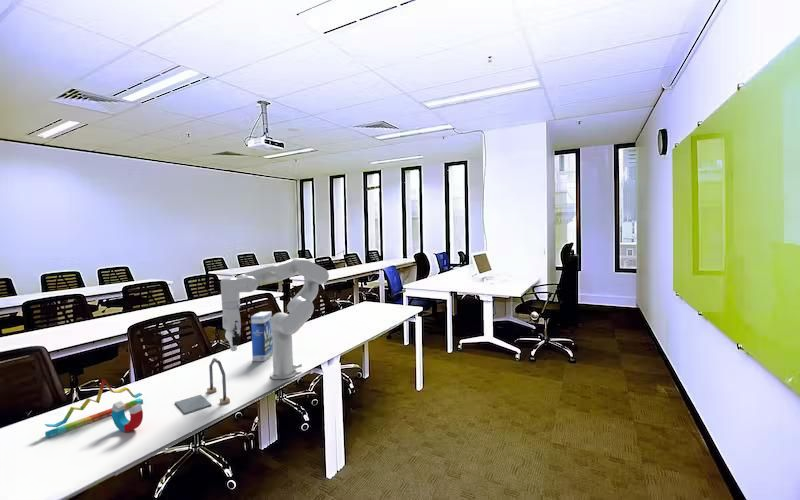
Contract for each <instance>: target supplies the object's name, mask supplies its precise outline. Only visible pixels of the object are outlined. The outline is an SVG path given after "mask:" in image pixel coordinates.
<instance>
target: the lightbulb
mask: <svg viewBox="0 0 800 500" xmlns="http://www.w3.org/2000/svg"><path fill="white" fill-rule="evenodd" d="M233 330H236V328H235V329H233ZM235 332H236V331H234V333H235ZM224 336H225V339H226V341H227V340H228V341H229V343H228V344H229V346H230V351H232V352H235V351H237V349H238V345H235V346H233V343H232V337H233V334H232V331H228V330H227V331H226V330H225V334H224Z"/></svg>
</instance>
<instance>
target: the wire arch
mask: <svg viewBox="0 0 800 500" xmlns="http://www.w3.org/2000/svg"><path fill="white" fill-rule="evenodd" d="M214 363H216V364H217V366H218V368H219V371H220V374H221V376H222V377H221V378H222V398H219V403H220V404H221V405H226V404H230V403H231V399H230V398H229V397H228V396H227V383H226V382H227V381H226V373H225V370H224V367H223V365H222V362H221V361H220V360H219V359H217V358H215V357H214V358H212V360H211V362H209V366H208V367H209V368H208V369H209V387H207V388H206V392H207V393H208V394H214V393H216V392H217V387H215V386H214V379H213V378H214V376H213V365H214Z"/></svg>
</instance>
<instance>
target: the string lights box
mask: <svg viewBox="0 0 800 500" xmlns="http://www.w3.org/2000/svg"><path fill="white" fill-rule="evenodd" d="M272 317H273V313H272V311H259V312H257V313H254V314H253V315H251V316H250V323H251V324H250V325H251V349H252V350H251V351H252V362H266V361H267V360H268V359H270V357H273V346H272V345H273V344H272V333H271V328H270V321H271V318H272Z"/></svg>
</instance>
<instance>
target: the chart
mask: <svg viewBox="0 0 800 500" xmlns="http://www.w3.org/2000/svg"><path fill="white" fill-rule="evenodd" d="M105 385H106V387H107V388H108V389H109V391H110V393H114V394H116V393H117V394H119V393H120V394H121V393H124V392H126V391H127V392H128V393H129V395H131V397H132V398H134V399H133V400H131V401H128V402H125V403H124V404H125V408H124V411H127V410H129V409H130V408H132V407H133V406H135V405H137V404H141V405H143V404H144V400H143V399H142V398H141V396H143V393H141V392H138V393H136V394H134V393H133V392H132V391H131V390H130V389H129V388H128V387H125V386H124V387H123V388H121V389H120V388H119V389H118V390H113V388H112V387H111V386H110V385H109V383H108V381H107V380H106V379H104V378H101V382H100V386H99V389H98V393H97V396H96V400H94V399H93V398H92V399H91V398H87V399H85V401H84V402H83V403H82V404H81V406H80V407H75V406H70V408H69V410H68V411H67V413H66V414H65V416H64V418H63V419H62V420H60V421H59V422H56V423H55V424H54V423H53V424H50V423H44V426H45V427H48V428H52V429H49V430H45V432H44V433H45V434H44V435H45V437H46V438H47V439H52V438H54V437H56V436H59V435H61V434H64V433H67V432H69V431H72V430H75V429H78V428H81V427H83V426H86V425H90V424H92V423H94V422H97V421H99V420H102V419H105V418H108V417H112V407H111V408H109V409H105V410H102V411H99V412H97V413H94V414H91V415H88V416H85V417H82V418H80V419H77V420H75V421H72V422H69V423H67V422H68V420H69V419H70V417H71V415H72V413H74V410H77V411H84V410H85V408H86V407H87V406H88V405H89V403H90V402H91V401H92V402H94V403H97V404H99V403H100V401H101V398H102V393H103V392H104V391H103V390H104V387H105Z"/></svg>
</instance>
